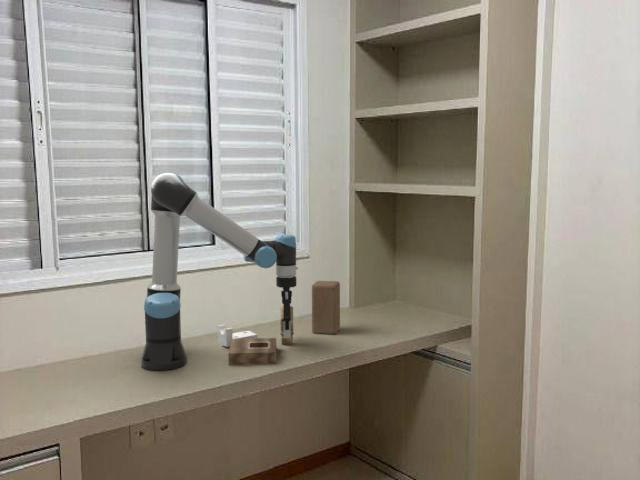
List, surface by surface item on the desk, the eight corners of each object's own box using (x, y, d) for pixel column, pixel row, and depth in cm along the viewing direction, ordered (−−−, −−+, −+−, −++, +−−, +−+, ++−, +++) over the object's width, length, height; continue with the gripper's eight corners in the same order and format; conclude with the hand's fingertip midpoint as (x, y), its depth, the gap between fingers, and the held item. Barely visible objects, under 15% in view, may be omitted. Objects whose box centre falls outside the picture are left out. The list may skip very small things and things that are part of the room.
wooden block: (336, 334, 248) (335, 285, 246) (311, 333, 250) (311, 284, 248) (340, 328, 258) (340, 280, 256) (316, 327, 260) (316, 280, 258)
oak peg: (280, 345, 234) (280, 309, 232) (280, 342, 239) (280, 306, 237) (293, 345, 234) (293, 308, 232) (293, 341, 239) (293, 305, 237)
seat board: (228, 364, 211) (228, 353, 211) (232, 349, 229) (232, 338, 229) (275, 363, 212) (275, 352, 212) (276, 348, 230) (276, 337, 230)
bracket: (226, 349, 230) (226, 329, 229) (218, 344, 236) (217, 325, 235) (257, 343, 238) (257, 324, 237) (248, 339, 243) (248, 320, 242)
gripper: (297, 281, 222) (297, 342, 225) (295, 270, 245) (296, 326, 247) (276, 281, 222) (276, 342, 224) (276, 271, 244) (277, 326, 247)
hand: (287, 334), depth 236 cm, fingers open, 10 cm apart
